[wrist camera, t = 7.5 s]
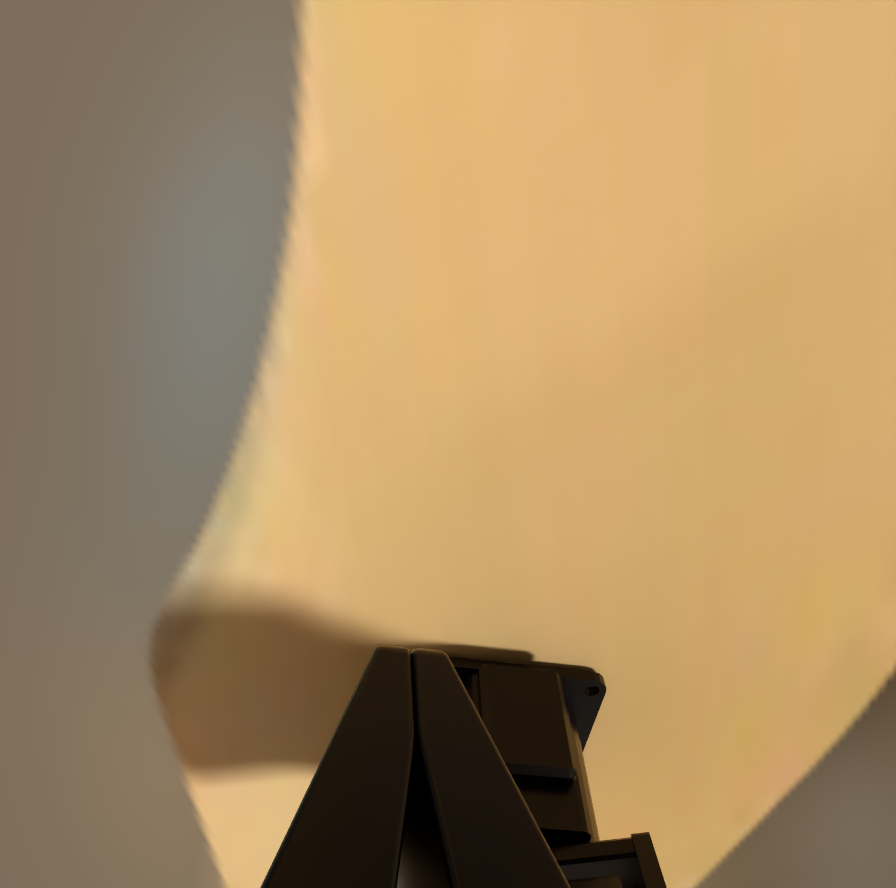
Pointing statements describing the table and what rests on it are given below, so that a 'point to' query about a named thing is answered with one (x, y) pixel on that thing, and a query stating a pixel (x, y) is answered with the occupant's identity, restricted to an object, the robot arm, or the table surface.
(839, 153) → the table surface
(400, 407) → the table surface
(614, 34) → the table surface
